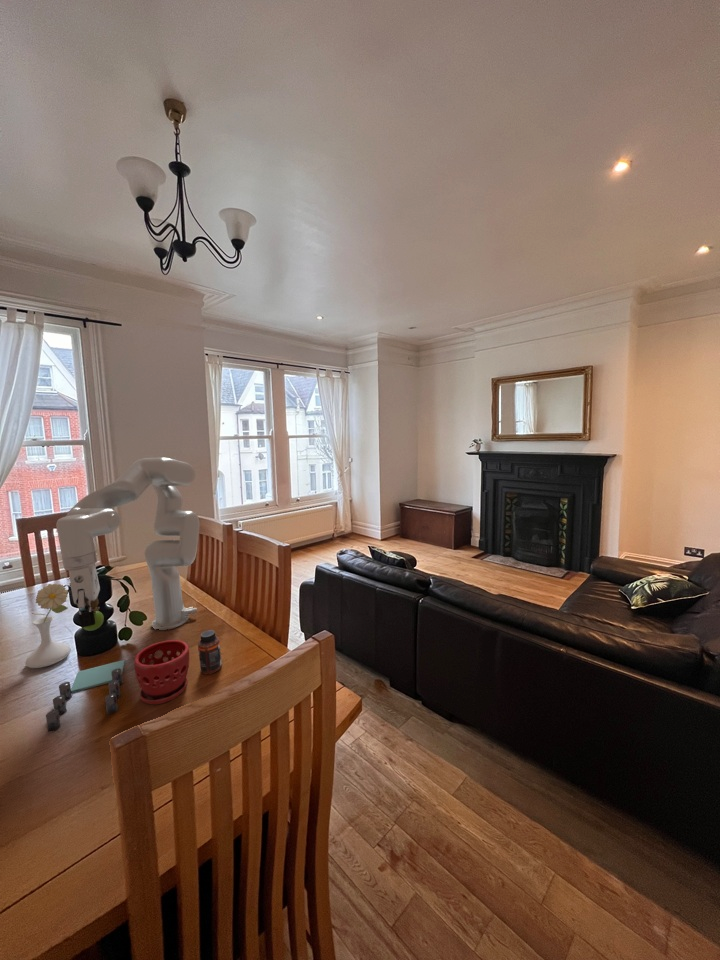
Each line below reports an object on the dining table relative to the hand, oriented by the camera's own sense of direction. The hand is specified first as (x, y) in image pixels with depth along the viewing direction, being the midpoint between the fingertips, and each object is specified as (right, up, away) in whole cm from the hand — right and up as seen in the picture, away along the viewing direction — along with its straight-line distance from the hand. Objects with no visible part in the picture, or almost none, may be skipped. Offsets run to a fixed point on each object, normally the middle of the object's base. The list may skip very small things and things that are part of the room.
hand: (90, 620), depth 109 cm
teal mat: (-1, -18, +5) cm, 19 cm away
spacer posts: (+5, -20, -7) cm, 21 cm away
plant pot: (+23, -19, -4) cm, 30 cm away
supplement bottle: (+32, -17, +6) cm, 37 cm away
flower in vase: (-22, -18, +14) cm, 32 cm away
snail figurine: (0, -3, +1) cm, 3 cm away
